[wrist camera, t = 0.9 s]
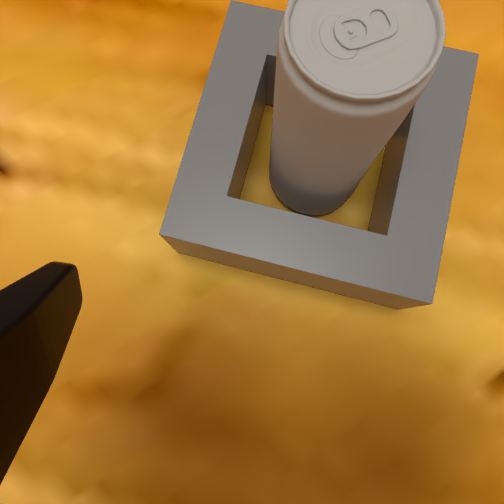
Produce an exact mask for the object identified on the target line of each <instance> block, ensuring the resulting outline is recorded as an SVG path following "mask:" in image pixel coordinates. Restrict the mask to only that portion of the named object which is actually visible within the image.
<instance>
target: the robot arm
mask: <svg viewBox="0 0 504 504" xmlns="http://www.w3.org/2000/svg"><path fill="white" fill-rule="evenodd" d="M81 305H82V292H81V286H80V280H79V275H78V270H77V268H76V266H75V265H73V264H70V263H63V262H50V263H48V264H46V265H44V266H43V267H41V268H39V269H37V270H36V271H34V272H32V273H30V274H28V275H27V276H25V277H23V278H21V279H19V280H18V281H16V282H14V283H12V284H11V285H9V286H7V287H5V288H3V289H2V290H0V485H1V483H2V481H3V479H4V477H5V475H6V473H7V471H8V469H9V467H10V465H11V463H12V461H13V459H14V457H15V455H16V453H17V451H18V449H19V447H20V445H21V443H22V442H23V440H24V438H25V436H26V434H27V432H28V430H29V428H30V426H31V424H32V422H33V420H34V418H35V416H36V414H37V412H38V410H39V408H40V406H41V404H42V402H43V400H44V398H45V397H46V395H47V393H48V391H49V388H50V386H51V384H52V382H53V380H54V378H55V375H56V373H57V370H58V368H59V365H60V362H61V360H62V357H63V354H64V352H65V349H66V346H67V344H68V341H69V338H70V336H71V333H72V330H73V328H74V325H75V322H76V320H77V317H78V314H79V311H80V309H81Z"/></svg>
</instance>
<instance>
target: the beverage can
mask: <svg viewBox="0 0 504 504" xmlns="http://www.w3.org/2000/svg"><path fill="white" fill-rule="evenodd" d="M445 35H446V31H445V20H444V14H443V11H442V8H441V6H440V3H439V1H438V0H289V1H288V5H287V8H286V11H285V14H284V16H283V19H282V23H281V26H280V29H279V32H278V41H277V57H276V73H275V88H274V104H273V120H272V135H271V151H270V167H269V172H270V182H271V185H272V189H273V190H274V192H275V194H276V195H277V197H278V199H279V200H281V201H282V202H283V203H284V204H285V205H286V206H287V207H289V208H290V209H292V210H294V211H296V212H298V213H302V214H306V215H323V214H327V213H330V212H333V211H334V210H336V209H337V208H339V207H340V206H342V205H343V204H344V202H345V201H346V200H347V199H348V198H349V197H350V196H351V194H352V193H353V191H354V190H355V188H356V187H357V185H358V184H359V182H360V181H361V179H362V178H363V176H364V175H365V173H366V172H367V170H368V169H369V167H370V166H371V165H372V163H373V162H374V160H375V159H376V157H377V156H378V155H379V153H380V152H381V151H382V149H383V148H384V146H385V145H386V144H387V142H388V141H389V140H390V138H391V137H392V136H393V134H394V133H395V131H396V130H397V129H398V127H399V126H400V125H401V123H402V122H403V120H404V119H405V117H406V116H407V115H408V113H409V112H410V110H411V109H412V107H413V106H414V105H415V103H416V102H417V100H418V99H419V97H420V96H421V94H422V93H423V91H424V90H425V88H426V86H427V85H428V83H429V81H430V79H431V77H432V76H433V74H434V72H435V70H436V66H437V62H438V59H439V57H440V55H441V53H442V49H443V44H444V40H445Z"/></svg>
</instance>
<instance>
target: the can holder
mask: <svg viewBox="0 0 504 504" xmlns="http://www.w3.org/2000/svg"><path fill="white" fill-rule="evenodd" d="M284 14H285V12H283V11H279V10H274V9H270V8H265V7H260V6H256V5H251V4H247V3H242V2H237V1H233V0H231V2H230V5H229V9H228V12H227V15H226V18H225V22H224V25H223V28H222V31H221V35H220V38H219V41H218V44H217V48H216V51H215V54H214V57H213V61H212V64H211V67H210V70H209V74H208V77H207V80H206V83H205V87H204V90H203V93H202V96H201V100H200V103H199V106H198V109H197V113H196V116H195V119H194V122H193V126H192V129H191V132H190V135H189V139H188V142H187V145H186V148H185V152H184V155H183V158H182V161H181V165H180V168H179V171H178V174H177V178H176V181H175V184H174V187H173V191H172V194H171V197H170V200H169V204H168V207H167V210H166V213H165V217H164V220H163V223H162V226H161V230H160V233H159V234H160V235H161V236H162V237H163V238H164V239H165V240H166V241H167V242H168V243H169V244H170V245H171V246H172V247H173V248H174V249H175V250H176V251H177V252H178V253H181V254H185V255H189V256H193V257H197V258H201V259H204V260H208V261H212V262H216V263H220V264H224V265H228V266H232V267H235V268H239V269H243V270H247V271H251V272H255V273H259V274H263V275H267V276H270V277H274V278H278V279H282V280H286V281H290V282H294V283H298V284H301V285H305V286H309V287H313V288H317V289H321V290H325V291H329V292H332V293H336V294H340V295H344V296H348V297H352V298H356V299H360V300H364V301H367V302H371V303H375V304H379V305H383V306H387V307H391V308H395V309H404V308H410V307H416V306H423V305H429V304H432V303H433V298H434V292H435V287H436V281H437V276H438V271H439V265H440V260H441V255H442V249H443V244H444V239H445V233H446V228H447V222H448V217H449V212H450V206H451V201H452V196H453V190H454V185H455V179H456V174H457V169H458V163H459V158H460V153H461V147H462V142H463V137H464V131H465V126H466V120H467V115H468V110H469V104H470V99H471V94H472V88H473V83H474V77H475V72H476V67H477V61H478V56H479V54H476V53H472V52H467V51H463V50H458V49H453V48H449V47H444V46H443V49H442V53H441V55H440V57H439V59H438V62H437V66H436V70H435V72H434V74H433V76H432V77H431V79H430V81H429V83H428V85H427V86H426V88H425V90H424V91H423V93H422V94H421V96H420V97H419V99H418V100H417V102H416V103H415V105H414V106H413V107H412V109H411V110H410V112H409V113H408V115H407V116H406V117H405V119H404V120H403V122H402V123H401V125H400V126H399V127H398V129H397V130H396V131H395V133H394V134H393V136H392V137H391V138H390V140H389V141H388V142H387V145H386V150H385V154H384V159H383V163H382V168H381V173H380V177H379V182H378V186H377V191H376V195H375V200H374V204H373V209H372V214H371V218H370V223H369V227H368V231H366V230H362V229H358V228H354V227H350V226H346V225H341V224H337V223H333V222H329V221H325V220H321V219H317V218H313V217H309V216H305V215H301V214H297V213H293V212H289V211H285V210H281V209H277V208H273V207H269V206H265V205H261V204H257V203H253V202H248V201H244V200H240V199H239V198H240V194H241V190H242V187H243V183H244V180H245V176H246V172H247V169H248V165H249V162H250V158H251V154H252V151H253V147H254V144H255V140H256V136H257V133H258V129H259V126H260V122H261V118H262V115H263V111H264V108H265V104H268V105H272V106H273V104H274V88H275V73H276V57H277V41H278V32H279V29H280V26H281V23H282V19H283V16H284Z"/></svg>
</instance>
